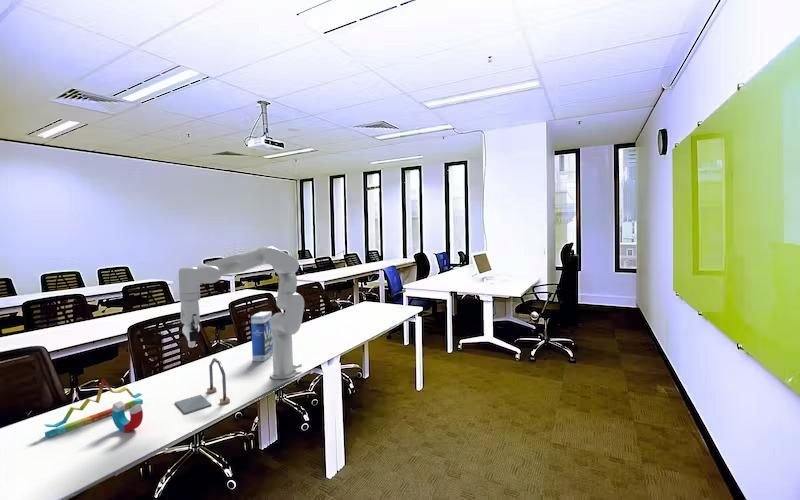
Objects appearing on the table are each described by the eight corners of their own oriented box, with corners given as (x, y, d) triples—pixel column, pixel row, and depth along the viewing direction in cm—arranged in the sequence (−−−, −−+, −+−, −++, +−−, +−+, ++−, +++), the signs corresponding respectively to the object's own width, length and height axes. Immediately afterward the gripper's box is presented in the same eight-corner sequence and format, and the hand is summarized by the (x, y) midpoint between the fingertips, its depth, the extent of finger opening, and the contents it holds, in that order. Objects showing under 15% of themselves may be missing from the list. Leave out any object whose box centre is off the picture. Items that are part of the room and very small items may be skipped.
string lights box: (265, 361, 206) (263, 316, 205) (251, 361, 207) (250, 316, 206) (273, 353, 220) (272, 311, 219) (261, 354, 220) (259, 311, 219)
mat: (200, 395, 163) (200, 394, 163) (211, 405, 153) (211, 404, 153) (174, 403, 156) (174, 402, 156) (184, 414, 146) (184, 412, 146)
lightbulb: (182, 350, 150) (181, 323, 149) (183, 346, 155) (182, 320, 155) (200, 348, 153) (199, 322, 152) (200, 344, 158) (199, 319, 158)
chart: (48, 439, 130) (46, 398, 129) (45, 437, 132) (42, 396, 131) (143, 404, 156) (141, 369, 156) (139, 402, 158) (137, 368, 157)
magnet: (112, 430, 135) (110, 403, 135) (119, 426, 138) (118, 400, 137) (136, 434, 132) (135, 407, 131) (144, 430, 134) (142, 403, 134)
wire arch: (214, 389, 169) (212, 354, 169) (229, 402, 156) (228, 363, 155) (207, 391, 167) (205, 355, 167) (222, 404, 154) (220, 365, 153)
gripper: (174, 295, 157) (175, 337, 157) (186, 300, 144) (187, 345, 145) (193, 293, 162) (195, 333, 163) (206, 297, 150) (208, 341, 150)
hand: (191, 338), depth 154 cm, fingers closed on lightbulb, 6 cm apart
